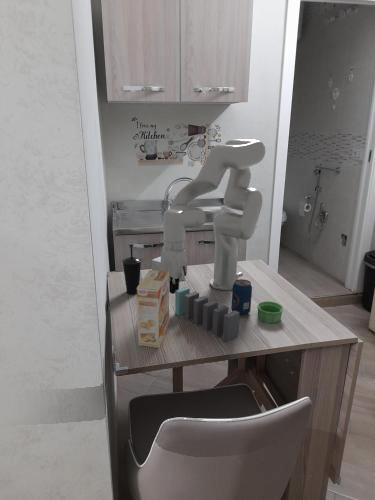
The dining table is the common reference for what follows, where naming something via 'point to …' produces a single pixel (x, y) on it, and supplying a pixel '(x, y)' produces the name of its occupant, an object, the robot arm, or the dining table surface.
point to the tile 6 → (230, 326)
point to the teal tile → (180, 300)
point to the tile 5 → (219, 320)
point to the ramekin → (269, 311)
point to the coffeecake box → (153, 308)
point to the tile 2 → (190, 305)
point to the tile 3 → (199, 310)
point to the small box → (156, 264)
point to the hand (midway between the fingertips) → (174, 292)
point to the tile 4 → (209, 314)
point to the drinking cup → (132, 273)
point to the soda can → (241, 297)
